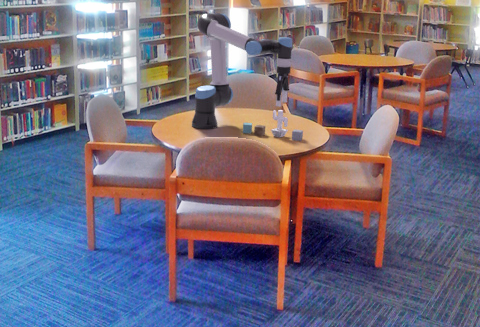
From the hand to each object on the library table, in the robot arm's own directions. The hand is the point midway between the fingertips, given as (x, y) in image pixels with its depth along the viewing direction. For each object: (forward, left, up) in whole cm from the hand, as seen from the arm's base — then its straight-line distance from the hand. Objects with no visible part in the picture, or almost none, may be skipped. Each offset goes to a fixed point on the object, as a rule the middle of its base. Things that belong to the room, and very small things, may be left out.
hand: (281, 104), depth 328 cm
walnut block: (-11, -2, -19) cm, 22 cm away
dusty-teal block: (-19, 0, -19) cm, 27 cm away
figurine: (0, 0, -19) cm, 19 cm away
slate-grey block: (+11, -2, -19) cm, 22 cm away
